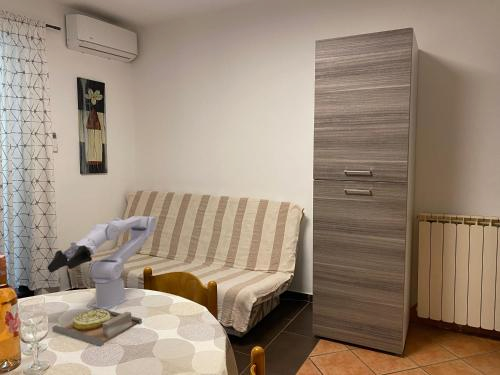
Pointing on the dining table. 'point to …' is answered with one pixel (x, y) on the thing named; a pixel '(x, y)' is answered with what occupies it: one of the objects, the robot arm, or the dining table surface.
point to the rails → (86, 337)
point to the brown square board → (109, 327)
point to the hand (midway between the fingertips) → (58, 268)
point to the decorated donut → (91, 319)
